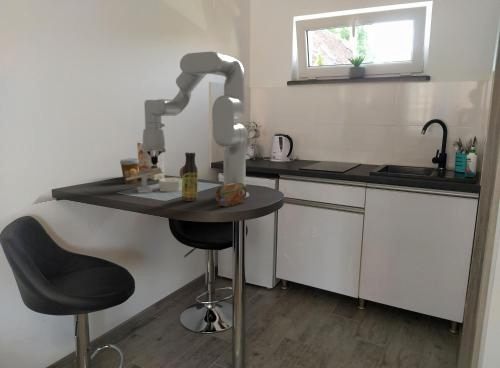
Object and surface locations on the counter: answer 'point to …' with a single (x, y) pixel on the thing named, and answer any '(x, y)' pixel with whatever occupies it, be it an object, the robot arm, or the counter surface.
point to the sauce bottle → (189, 178)
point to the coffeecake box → (149, 162)
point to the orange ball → (132, 171)
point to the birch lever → (143, 172)
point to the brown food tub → (127, 165)
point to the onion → (182, 171)
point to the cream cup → (170, 184)
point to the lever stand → (144, 185)
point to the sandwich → (230, 194)
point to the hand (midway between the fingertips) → (154, 164)
